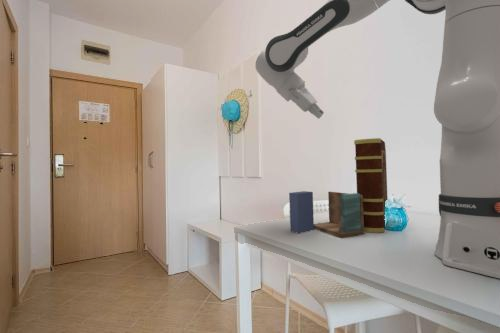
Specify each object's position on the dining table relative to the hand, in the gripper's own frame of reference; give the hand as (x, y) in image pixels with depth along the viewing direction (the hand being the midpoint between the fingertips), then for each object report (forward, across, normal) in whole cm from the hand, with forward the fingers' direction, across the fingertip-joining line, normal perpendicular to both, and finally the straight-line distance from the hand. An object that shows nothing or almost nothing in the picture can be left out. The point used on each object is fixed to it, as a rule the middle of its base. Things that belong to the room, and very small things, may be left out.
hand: (321, 115), depth 91 cm
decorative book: (+40, -3, +15) cm, 43 cm away
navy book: (+22, -15, +30) cm, 40 cm away
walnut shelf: (+30, -13, +22) cm, 39 cm away
